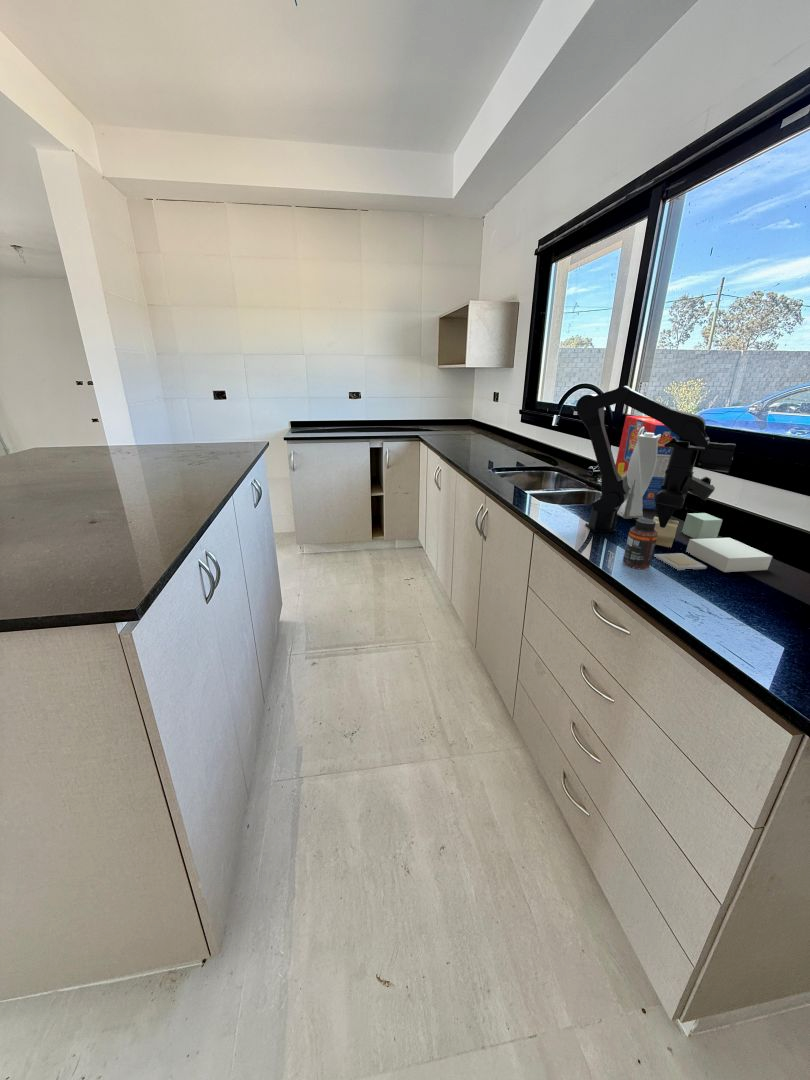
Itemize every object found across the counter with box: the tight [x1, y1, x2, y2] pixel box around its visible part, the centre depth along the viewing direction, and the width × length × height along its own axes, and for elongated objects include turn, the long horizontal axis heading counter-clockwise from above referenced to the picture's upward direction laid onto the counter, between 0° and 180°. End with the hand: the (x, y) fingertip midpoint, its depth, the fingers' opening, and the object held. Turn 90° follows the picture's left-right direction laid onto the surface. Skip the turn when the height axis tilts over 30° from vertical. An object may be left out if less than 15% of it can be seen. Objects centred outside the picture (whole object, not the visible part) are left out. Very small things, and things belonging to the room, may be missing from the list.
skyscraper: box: [617, 426, 661, 520], centre depth 135 cm, size 8×8×28 cm
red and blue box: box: [615, 415, 681, 511], centre depth 154 cm, size 28×8×28 cm, turn 172°
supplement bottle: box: [622, 517, 658, 570], centre depth 102 cm, size 6×6×11 cm
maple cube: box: [652, 516, 680, 549], centre depth 117 cm, size 6×6×6 cm
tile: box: [653, 552, 708, 571], centre depth 106 cm, size 8×8×1 cm
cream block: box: [685, 537, 774, 573], centre depth 107 cm, size 12×12×4 cm
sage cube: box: [681, 512, 723, 539], centre depth 122 cm, size 6×6×6 cm
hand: (664, 522), depth 116 cm, fingers open, 9 cm apart
